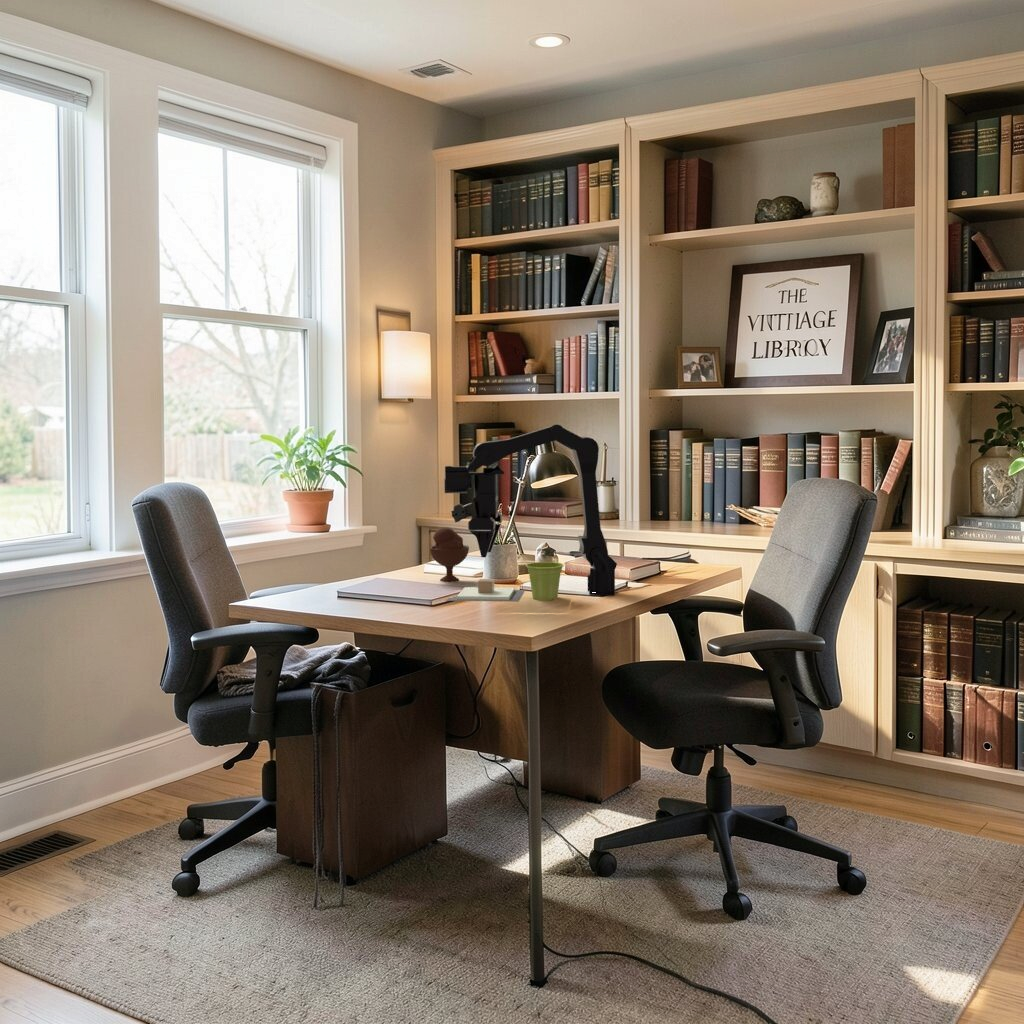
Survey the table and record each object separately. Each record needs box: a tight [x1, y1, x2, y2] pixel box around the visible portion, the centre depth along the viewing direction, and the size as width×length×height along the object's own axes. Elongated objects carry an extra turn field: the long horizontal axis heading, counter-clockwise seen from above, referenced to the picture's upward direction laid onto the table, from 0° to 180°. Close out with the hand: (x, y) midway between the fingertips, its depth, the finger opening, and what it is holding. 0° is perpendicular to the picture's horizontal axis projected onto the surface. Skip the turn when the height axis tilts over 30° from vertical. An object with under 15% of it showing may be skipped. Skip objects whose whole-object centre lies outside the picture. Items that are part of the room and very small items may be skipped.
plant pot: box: [525, 561, 564, 601], centre depth 266 cm, size 9×9×9 cm
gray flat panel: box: [445, 589, 526, 603], centre depth 271 cm, size 18×16×1 cm
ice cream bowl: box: [429, 526, 470, 583], centre depth 293 cm, size 11×11×15 cm
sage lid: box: [457, 578, 516, 600], centre depth 271 cm, size 13×13×4 cm
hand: (486, 554), depth 270 cm, fingers open, 9 cm apart
